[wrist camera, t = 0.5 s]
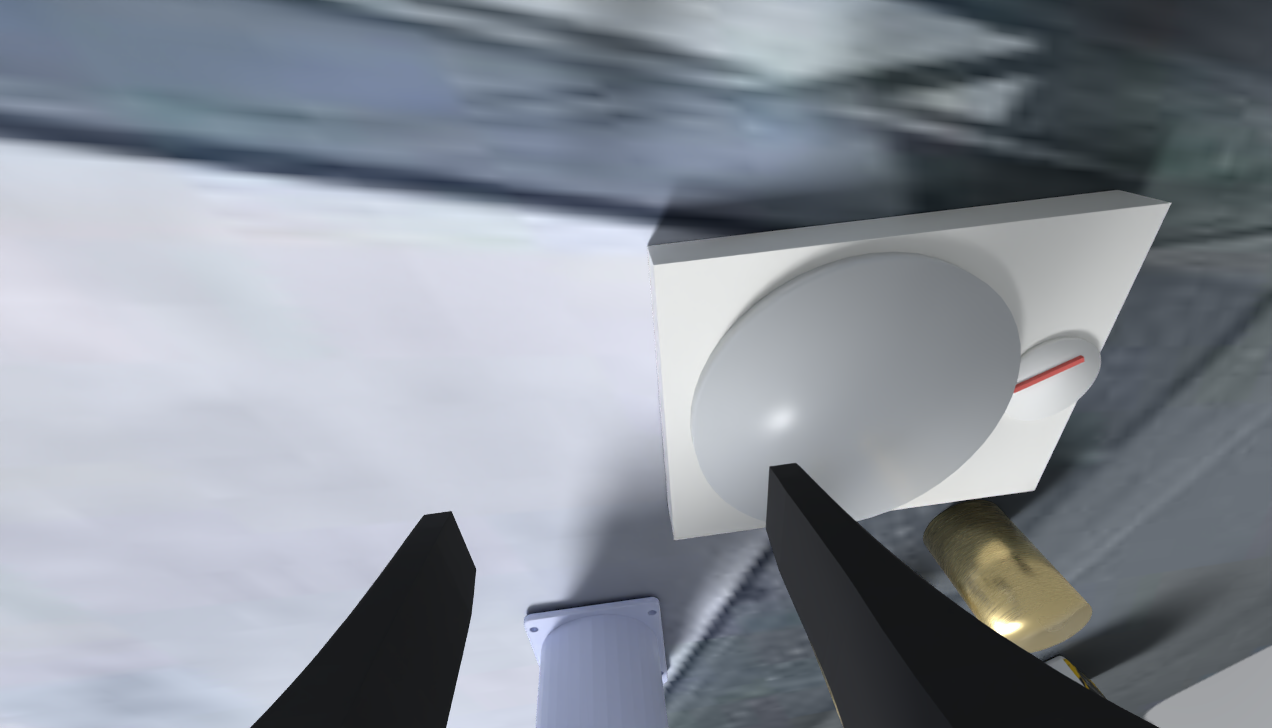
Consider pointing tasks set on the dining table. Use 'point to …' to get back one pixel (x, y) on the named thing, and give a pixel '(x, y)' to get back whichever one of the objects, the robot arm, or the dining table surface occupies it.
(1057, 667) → the medicine bottle
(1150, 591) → the dining table surface
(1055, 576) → the cylinder
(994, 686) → the robot arm
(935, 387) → the kitchen scale
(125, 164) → the dining table surface
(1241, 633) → the dining table surface
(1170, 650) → the dining table surface
